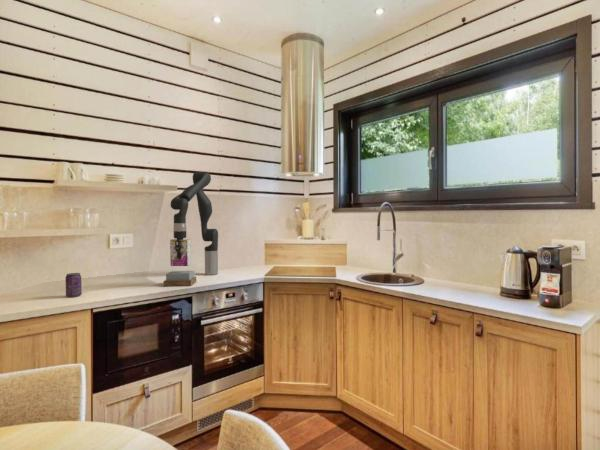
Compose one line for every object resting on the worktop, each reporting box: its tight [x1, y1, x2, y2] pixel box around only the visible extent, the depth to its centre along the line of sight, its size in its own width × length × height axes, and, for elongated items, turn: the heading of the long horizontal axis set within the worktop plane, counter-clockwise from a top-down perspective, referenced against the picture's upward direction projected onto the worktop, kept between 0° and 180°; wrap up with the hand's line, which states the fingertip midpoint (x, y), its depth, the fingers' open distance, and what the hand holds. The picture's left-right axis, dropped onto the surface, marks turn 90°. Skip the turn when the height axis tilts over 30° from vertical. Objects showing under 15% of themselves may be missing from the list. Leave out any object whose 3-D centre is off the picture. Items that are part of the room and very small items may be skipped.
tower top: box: [165, 270, 195, 280], centre depth 221 cm, size 11×14×4 cm
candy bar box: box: [169, 238, 191, 267], centre depth 220 cm, size 11×5×16 cm, turn 84°
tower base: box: [163, 276, 197, 288], centre depth 220 cm, size 14×16×4 cm
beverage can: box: [65, 272, 83, 298], centre depth 188 cm, size 7×7×12 cm
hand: (180, 257), depth 220 cm, fingers closed on candy bar box, 5 cm apart
